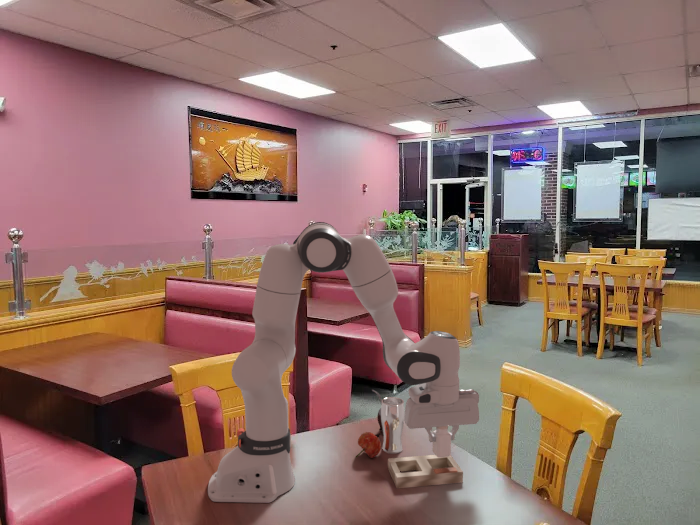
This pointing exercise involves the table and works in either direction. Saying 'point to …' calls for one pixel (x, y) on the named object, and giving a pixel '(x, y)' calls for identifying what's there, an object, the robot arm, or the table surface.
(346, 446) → the table surface
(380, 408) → the mate gourd
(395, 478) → the slot rack
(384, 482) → the table surface
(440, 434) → the pepper shaker
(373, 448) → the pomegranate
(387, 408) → the beer glass
